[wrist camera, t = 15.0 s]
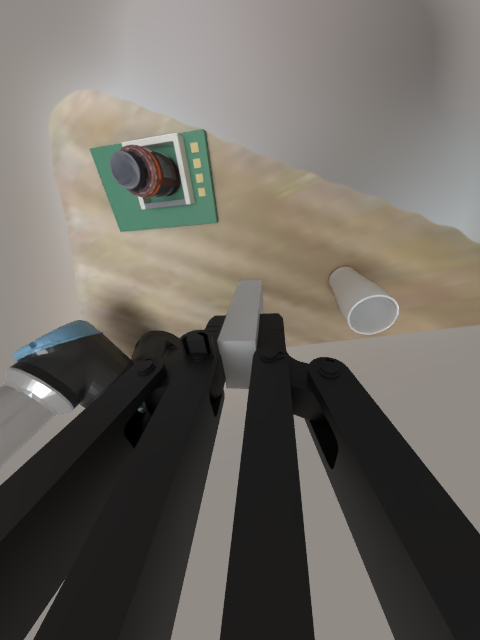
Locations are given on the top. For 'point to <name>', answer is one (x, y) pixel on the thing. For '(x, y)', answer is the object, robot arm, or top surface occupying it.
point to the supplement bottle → (144, 171)
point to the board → (167, 211)
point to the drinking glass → (362, 302)
